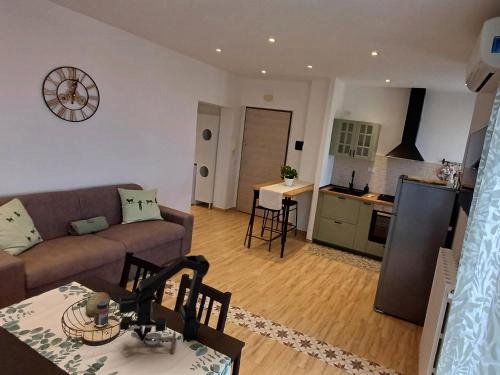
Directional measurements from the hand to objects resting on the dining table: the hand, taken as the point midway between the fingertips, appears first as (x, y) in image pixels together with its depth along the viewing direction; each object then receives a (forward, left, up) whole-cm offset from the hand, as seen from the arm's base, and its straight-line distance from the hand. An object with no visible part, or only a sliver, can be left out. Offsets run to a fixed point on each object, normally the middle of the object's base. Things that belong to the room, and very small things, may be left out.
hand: (142, 340), depth 142 cm
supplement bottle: (+21, -13, -2) cm, 25 cm away
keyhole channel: (-5, 0, -2) cm, 5 cm away
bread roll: (+26, -25, -3) cm, 37 cm away
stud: (-5, 0, -2) cm, 5 cm away
